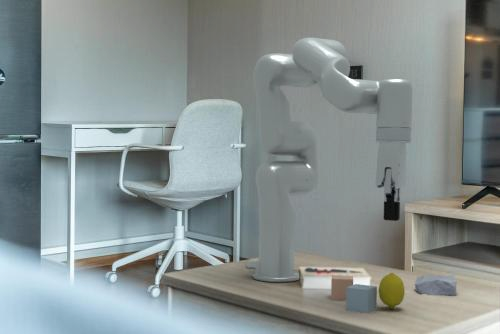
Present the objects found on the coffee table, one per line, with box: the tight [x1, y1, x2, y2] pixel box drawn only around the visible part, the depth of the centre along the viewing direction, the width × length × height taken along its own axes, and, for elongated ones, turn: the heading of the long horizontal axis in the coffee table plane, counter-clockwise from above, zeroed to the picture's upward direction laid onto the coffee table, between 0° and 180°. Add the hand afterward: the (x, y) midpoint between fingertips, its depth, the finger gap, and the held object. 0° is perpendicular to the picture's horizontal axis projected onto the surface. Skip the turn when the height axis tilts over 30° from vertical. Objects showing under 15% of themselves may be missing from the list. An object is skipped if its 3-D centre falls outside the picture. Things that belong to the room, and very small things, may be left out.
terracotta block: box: [330, 274, 354, 302], centre depth 173 cm, size 5×5×5 cm
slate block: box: [345, 283, 378, 314], centre depth 161 cm, size 5×5×5 cm
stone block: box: [414, 274, 457, 297], centre depth 183 cm, size 12×5×10 cm
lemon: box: [378, 272, 405, 310], centre depth 162 cm, size 6×6×8 cm
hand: (391, 219), depth 162 cm, fingers closed
